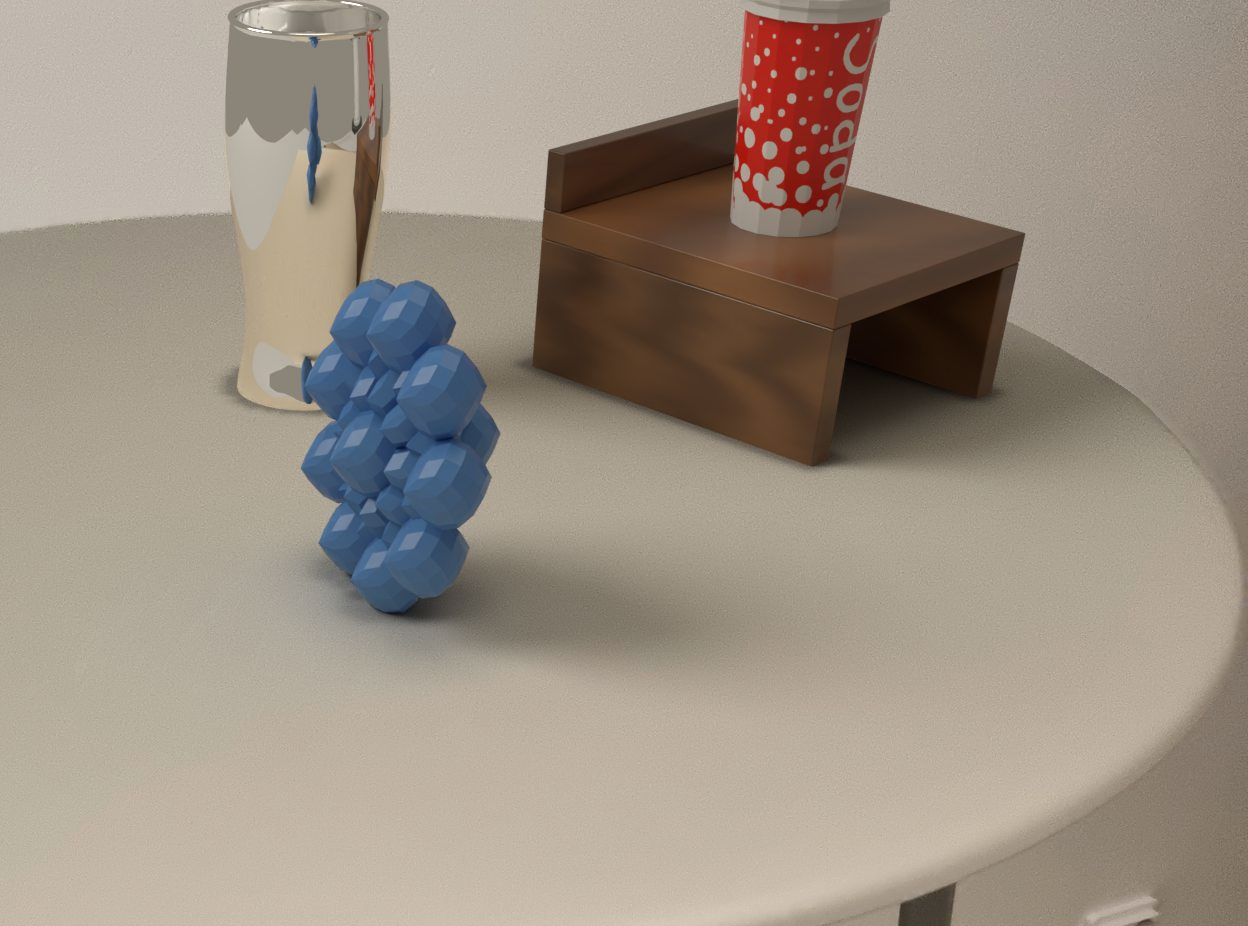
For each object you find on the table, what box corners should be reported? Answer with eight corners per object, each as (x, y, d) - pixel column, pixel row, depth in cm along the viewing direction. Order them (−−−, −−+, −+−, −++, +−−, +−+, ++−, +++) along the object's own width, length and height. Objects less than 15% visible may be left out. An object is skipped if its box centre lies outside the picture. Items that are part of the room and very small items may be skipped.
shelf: (990, 399, 98) (1039, 171, 91) (810, 473, 91) (849, 234, 85) (713, 310, 107) (740, 97, 100) (530, 372, 100) (547, 149, 94)
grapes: (564, 655, 78) (597, 307, 71) (395, 688, 76) (409, 334, 68) (423, 533, 86) (438, 208, 78) (266, 560, 84) (265, 230, 76)
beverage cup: (771, 250, 91) (827, -145, 82) (683, 212, 95) (727, -169, 86) (885, 229, 93) (952, -158, 84) (794, 192, 97) (848, -181, 88)
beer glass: (245, 360, 101) (243, -9, 91) (393, 371, 100) (407, 0, 90) (211, 413, 96) (204, 29, 86) (367, 426, 95) (378, 39, 85)
